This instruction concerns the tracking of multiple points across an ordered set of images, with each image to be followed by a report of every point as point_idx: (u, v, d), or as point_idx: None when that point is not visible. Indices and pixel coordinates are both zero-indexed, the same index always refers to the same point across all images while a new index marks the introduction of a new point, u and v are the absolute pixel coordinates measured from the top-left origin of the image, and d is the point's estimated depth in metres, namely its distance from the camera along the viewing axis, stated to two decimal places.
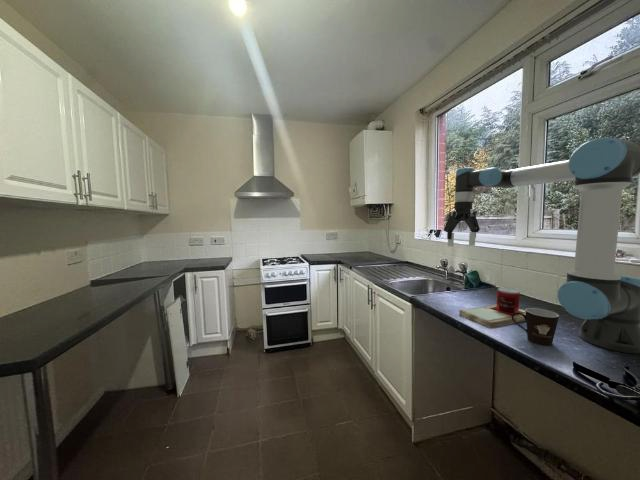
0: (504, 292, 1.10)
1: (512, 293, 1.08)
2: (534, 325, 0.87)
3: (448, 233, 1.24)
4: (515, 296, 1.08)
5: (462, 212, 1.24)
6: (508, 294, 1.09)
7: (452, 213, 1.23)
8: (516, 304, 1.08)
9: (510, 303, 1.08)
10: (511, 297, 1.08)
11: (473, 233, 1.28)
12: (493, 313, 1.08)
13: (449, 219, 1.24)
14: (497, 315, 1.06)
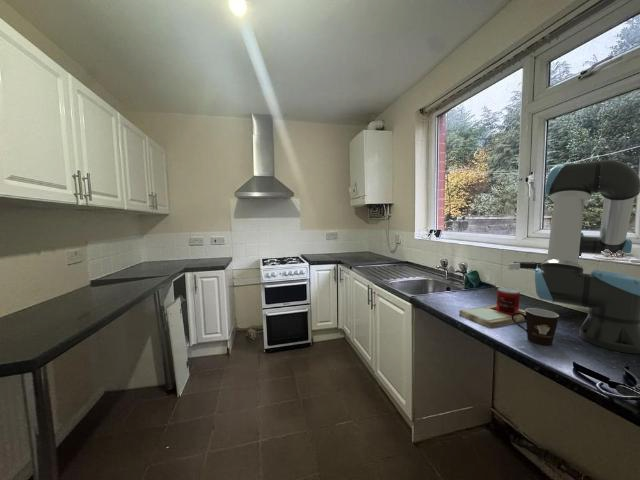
0: (504, 292, 1.10)
1: (512, 293, 1.08)
2: (534, 325, 0.87)
3: None
4: (515, 296, 1.08)
5: None
6: (508, 294, 1.09)
7: None
8: (516, 304, 1.08)
9: (510, 303, 1.09)
10: (511, 297, 1.08)
11: None
12: (493, 313, 1.08)
13: None
14: (497, 315, 1.06)
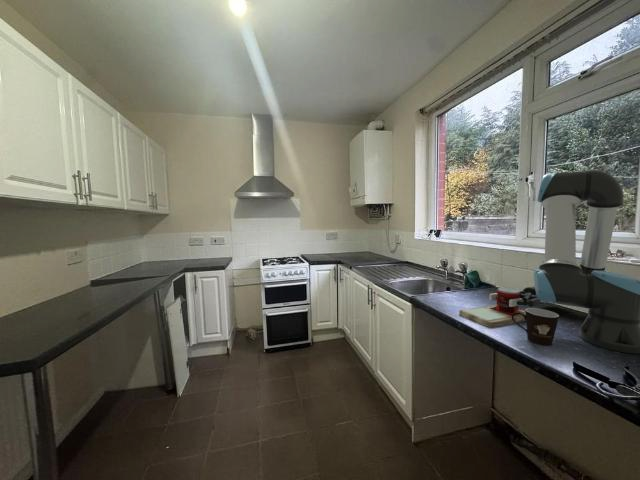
0: (504, 292, 1.10)
1: (512, 293, 1.08)
2: (534, 325, 0.87)
3: None
4: (515, 296, 1.08)
5: None
6: (508, 294, 1.09)
7: None
8: None
9: None
10: (511, 297, 1.08)
11: None
12: (493, 313, 1.08)
13: None
14: (497, 315, 1.06)
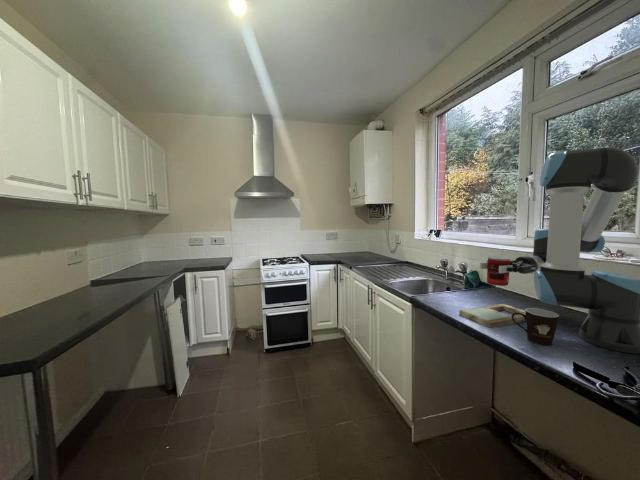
0: (494, 259, 1.08)
1: (502, 259, 1.06)
2: (534, 325, 0.87)
3: None
4: (505, 263, 1.06)
5: None
6: (498, 261, 1.07)
7: None
8: None
9: None
10: (501, 264, 1.06)
11: None
12: (493, 313, 1.08)
13: None
14: (497, 315, 1.06)
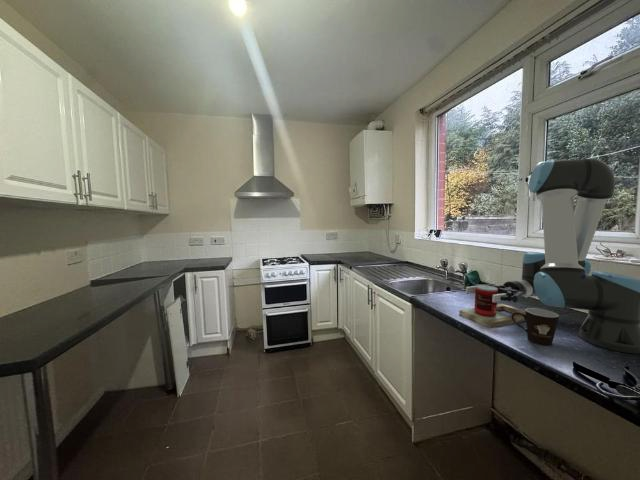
0: (481, 289, 1.05)
1: (489, 290, 1.04)
2: (534, 325, 0.87)
3: None
4: (492, 293, 1.04)
5: (504, 287, 1.13)
6: (485, 291, 1.04)
7: None
8: (494, 302, 1.04)
9: (487, 301, 1.04)
10: (488, 294, 1.04)
11: None
12: None
13: None
14: (497, 315, 1.06)
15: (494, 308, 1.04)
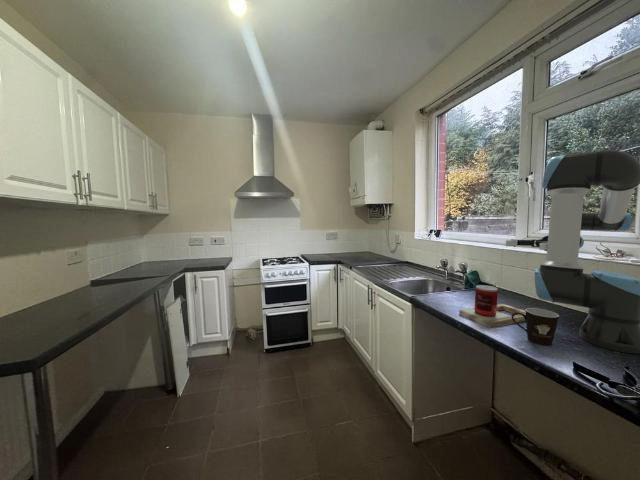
0: (481, 289, 1.05)
1: (489, 290, 1.04)
2: (534, 325, 0.87)
3: None
4: (492, 294, 1.03)
5: None
6: (485, 291, 1.04)
7: None
8: (494, 302, 1.04)
9: (487, 301, 1.04)
10: (488, 295, 1.04)
11: None
12: None
13: None
14: (497, 315, 1.06)
15: (494, 308, 1.04)
